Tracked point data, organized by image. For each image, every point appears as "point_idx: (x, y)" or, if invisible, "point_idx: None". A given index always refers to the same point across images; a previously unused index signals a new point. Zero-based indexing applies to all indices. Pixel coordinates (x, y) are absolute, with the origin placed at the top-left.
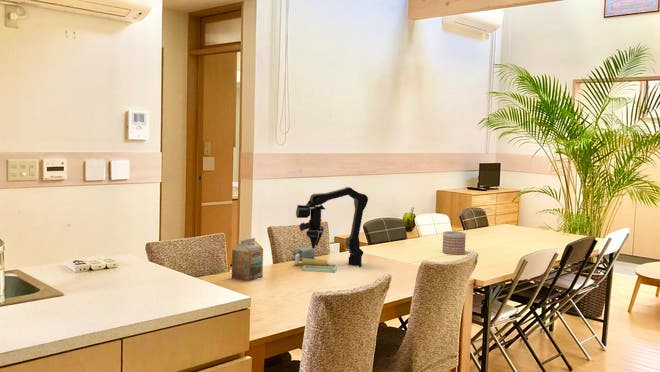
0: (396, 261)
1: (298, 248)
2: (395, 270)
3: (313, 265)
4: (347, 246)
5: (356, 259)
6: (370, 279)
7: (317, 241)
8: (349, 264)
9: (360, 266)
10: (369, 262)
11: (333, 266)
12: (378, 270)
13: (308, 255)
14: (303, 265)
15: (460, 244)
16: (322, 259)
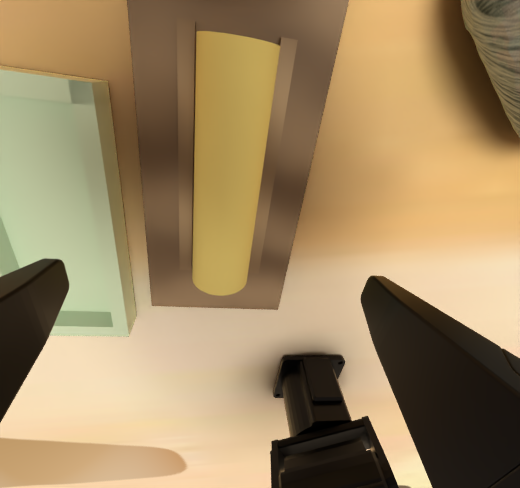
0: (393, 457)
1: None
2: (233, 468)
3: (187, 171)
4: (335, 481)
5: (287, 418)
6: (13, 437)
7: (393, 355)
8: (302, 361)
9: (273, 395)
10: (382, 406)
11: (224, 301)
12: (218, 438)
13: (507, 103)
14: (177, 61)
15: None
16: (218, 266)
